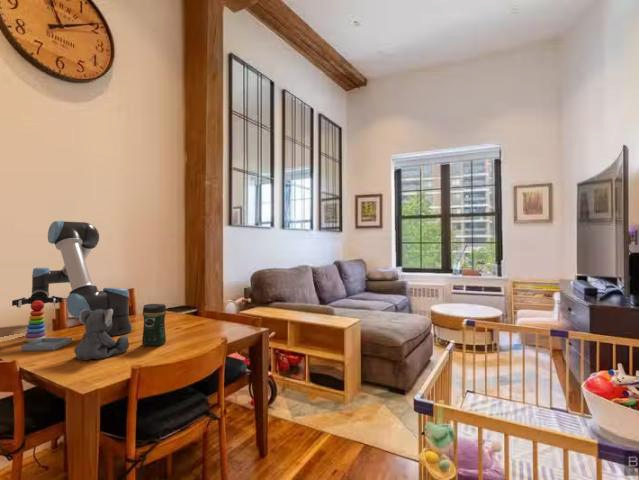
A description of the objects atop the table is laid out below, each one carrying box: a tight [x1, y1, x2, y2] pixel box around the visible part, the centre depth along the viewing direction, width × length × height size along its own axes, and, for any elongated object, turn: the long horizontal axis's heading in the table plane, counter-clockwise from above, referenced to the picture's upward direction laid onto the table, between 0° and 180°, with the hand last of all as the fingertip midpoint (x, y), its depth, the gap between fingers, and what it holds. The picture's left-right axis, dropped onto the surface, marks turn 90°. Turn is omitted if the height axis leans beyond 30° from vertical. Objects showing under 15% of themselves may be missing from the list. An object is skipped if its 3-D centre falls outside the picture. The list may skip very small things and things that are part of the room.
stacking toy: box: [24, 300, 47, 343], centre depth 167 cm, size 8×8×19 cm
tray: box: [20, 337, 73, 352], centre depth 158 cm, size 13×13×2 cm
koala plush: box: [73, 309, 130, 361], centre depth 147 cm, size 17×18×20 cm
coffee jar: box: [141, 303, 167, 347], centre depth 164 cm, size 10×8×19 cm
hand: (37, 304), depth 176 cm, fingers open, 13 cm apart
